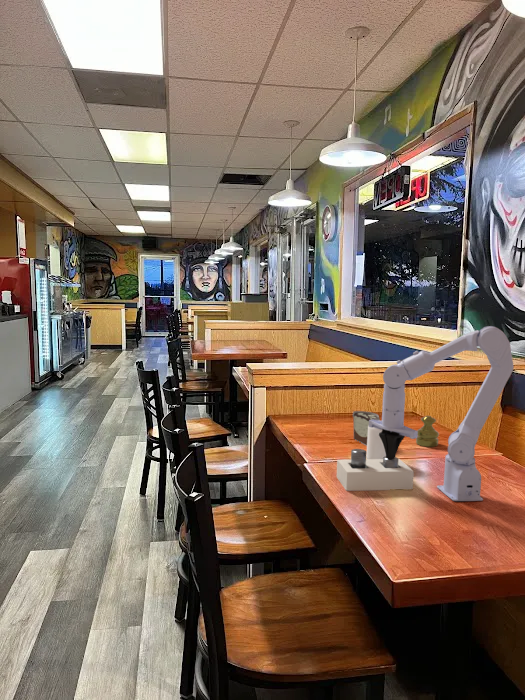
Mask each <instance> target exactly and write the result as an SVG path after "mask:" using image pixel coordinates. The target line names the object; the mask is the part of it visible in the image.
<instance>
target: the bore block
mask: <svg viewBox="0 0 525 700" xmlns="http://www.w3.org/2000/svg"><path fill="white" fill-rule="evenodd" d="M414 472H415V470H413V469H412V468H411V467H410V466H409V465H407V464H406V463H405V462H404V461H403V460H402V459H400V458H398V468H385V467H384V466H383V459H367V458H366V468H356V469H353V468H352V467H351V459H337V460H336V478H337V480H338V481H339V482H340V484H341V485H342V487H343V488H344V490H345V491H347V492H349V491H351V492H353V491H355V492H356V491H361V492H362V491H391V490H390V489H413V488H414Z"/></svg>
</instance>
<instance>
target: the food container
mask: <svg viewBox="0 0 525 700" xmlns="http://www.w3.org/2000/svg"><path fill="white" fill-rule="evenodd" d="M352 418H353V419H352V420H353V440H354V439H355V440H354V441H356V440H357V441H356V442H358V441H359V442H358V443H360V442H361V443H360V444H362V445H364V446H366V447H367V436H368V425H369V420H373V419H374V420H380V416H379V414H377V413H375V412H371V411H365V410H364V411H362V410H353V411H352Z"/></svg>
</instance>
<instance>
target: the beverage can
mask: <svg viewBox="0 0 525 700" xmlns="http://www.w3.org/2000/svg"><path fill="white" fill-rule="evenodd" d="M379 421H382V419H381V420H379ZM380 432H382V430H381V429H377V428H374V427H372V428H371V427H369V425H368V436H367V446H366V459H383V457H384V456H386V453H385V449H384V445H383V442H382V440H381V438H380V436H379V433H380Z"/></svg>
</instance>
